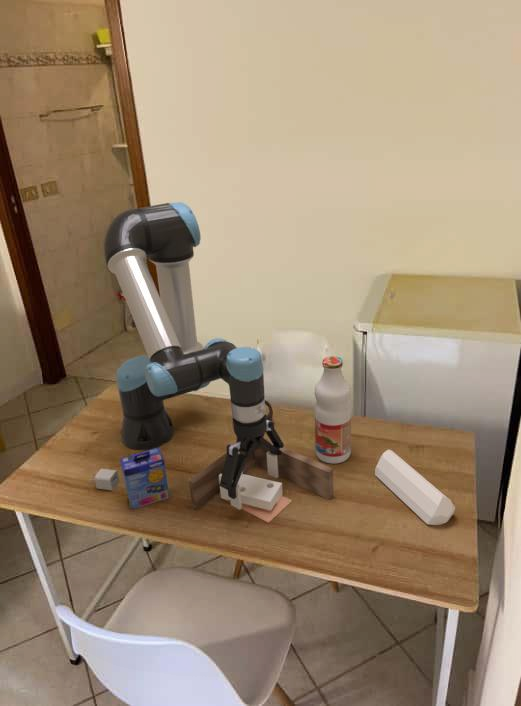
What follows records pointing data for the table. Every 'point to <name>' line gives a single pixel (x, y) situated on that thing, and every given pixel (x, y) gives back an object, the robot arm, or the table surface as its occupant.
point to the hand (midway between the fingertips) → (255, 490)
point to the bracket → (256, 491)
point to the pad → (266, 514)
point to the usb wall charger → (106, 479)
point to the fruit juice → (332, 414)
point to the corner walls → (289, 468)
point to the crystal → (414, 489)
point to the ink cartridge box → (145, 478)
